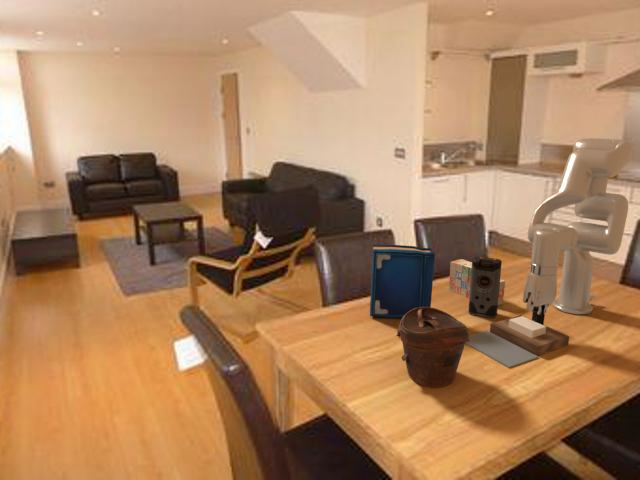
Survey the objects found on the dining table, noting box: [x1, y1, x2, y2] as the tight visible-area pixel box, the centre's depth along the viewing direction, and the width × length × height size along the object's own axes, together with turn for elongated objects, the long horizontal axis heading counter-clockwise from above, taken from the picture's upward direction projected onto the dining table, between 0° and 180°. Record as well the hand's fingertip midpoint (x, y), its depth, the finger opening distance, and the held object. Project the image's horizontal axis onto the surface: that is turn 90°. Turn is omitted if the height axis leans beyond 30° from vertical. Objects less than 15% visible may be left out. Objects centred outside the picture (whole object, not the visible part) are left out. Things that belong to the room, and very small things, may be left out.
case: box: [396, 307, 470, 388], centre depth 132 cm, size 18×20×18 cm
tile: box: [508, 315, 547, 338], centre depth 153 cm, size 6×9×2 cm, turn 28°
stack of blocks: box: [448, 258, 506, 306], centre depth 187 cm, size 21×6×12 cm, turn 32°
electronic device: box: [468, 256, 502, 319], centre depth 171 cm, size 9×6×20 cm, turn 62°
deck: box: [489, 314, 570, 357], centre depth 154 cm, size 14×18×3 cm
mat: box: [465, 330, 539, 369], centre depth 148 cm, size 12×20×1 cm, turn 28°
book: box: [369, 244, 436, 319], centre depth 169 cm, size 22×7×25 cm, turn 84°
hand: (537, 324), depth 155 cm, fingers closed
